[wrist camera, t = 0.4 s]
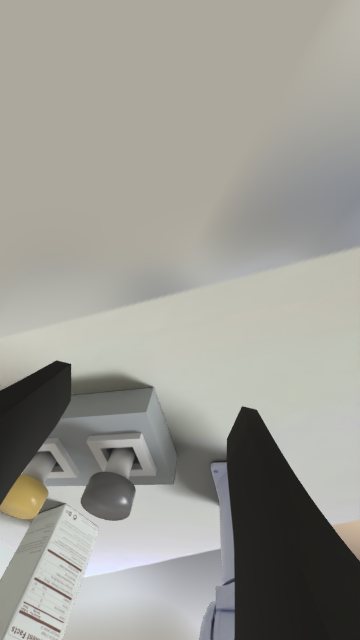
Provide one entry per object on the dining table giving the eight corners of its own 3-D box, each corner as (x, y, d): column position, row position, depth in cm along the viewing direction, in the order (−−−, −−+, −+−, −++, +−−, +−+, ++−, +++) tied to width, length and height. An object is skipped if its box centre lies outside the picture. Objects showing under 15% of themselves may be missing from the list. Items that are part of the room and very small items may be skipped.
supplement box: (69, 536, 39) (12, 672, 28) (35, 512, 37) (-43, 650, 25) (101, 528, 36) (53, 673, 25) (66, 502, 34) (-4, 649, 23)
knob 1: (74, 464, 25) (45, 519, 21) (41, 465, 26) (7, 518, 22) (57, 438, 24) (23, 492, 19) (23, 440, 24) (-17, 492, 20)
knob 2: (150, 461, 24) (136, 521, 19) (113, 463, 24) (91, 520, 20) (138, 433, 22) (120, 491, 18) (99, 436, 23) (72, 491, 18)
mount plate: (177, 455, 27) (172, 490, 24) (53, 460, 30) (35, 492, 27) (153, 387, 23) (144, 417, 19) (13, 401, 26) (-15, 429, 23)
